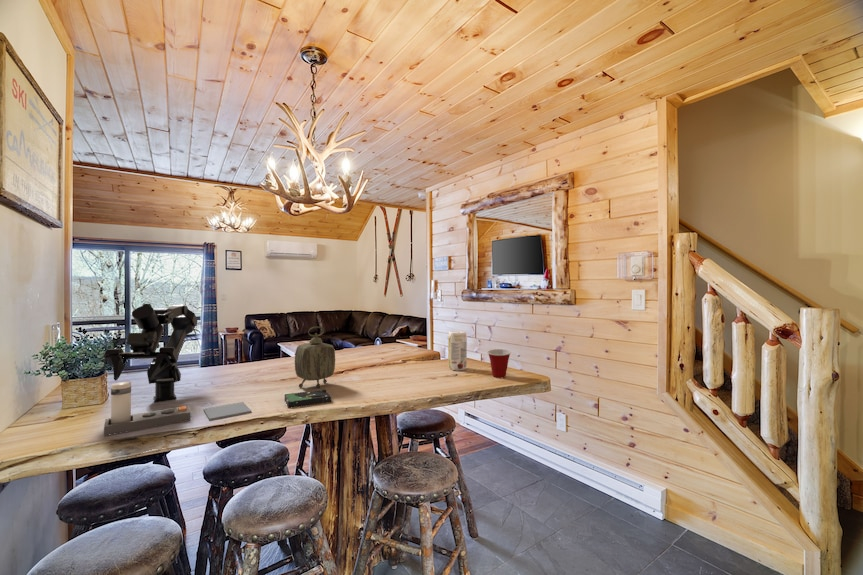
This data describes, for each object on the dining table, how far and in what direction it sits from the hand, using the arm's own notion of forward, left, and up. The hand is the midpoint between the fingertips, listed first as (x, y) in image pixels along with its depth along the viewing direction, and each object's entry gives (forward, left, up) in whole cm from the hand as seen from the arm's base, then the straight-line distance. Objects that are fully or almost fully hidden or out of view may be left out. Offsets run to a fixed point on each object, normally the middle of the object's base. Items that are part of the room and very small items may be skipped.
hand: (133, 378), depth 114 cm
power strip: (+6, +4, -13) cm, 15 cm away
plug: (+7, -3, -13) cm, 15 cm away
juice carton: (+7, +129, -13) cm, 130 cm away
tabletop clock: (-4, +59, -13) cm, 61 cm away
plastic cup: (+31, +133, -13) cm, 138 cm away
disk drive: (+13, +49, -13) cm, 53 cm away
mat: (+8, +24, -13) cm, 29 cm away
